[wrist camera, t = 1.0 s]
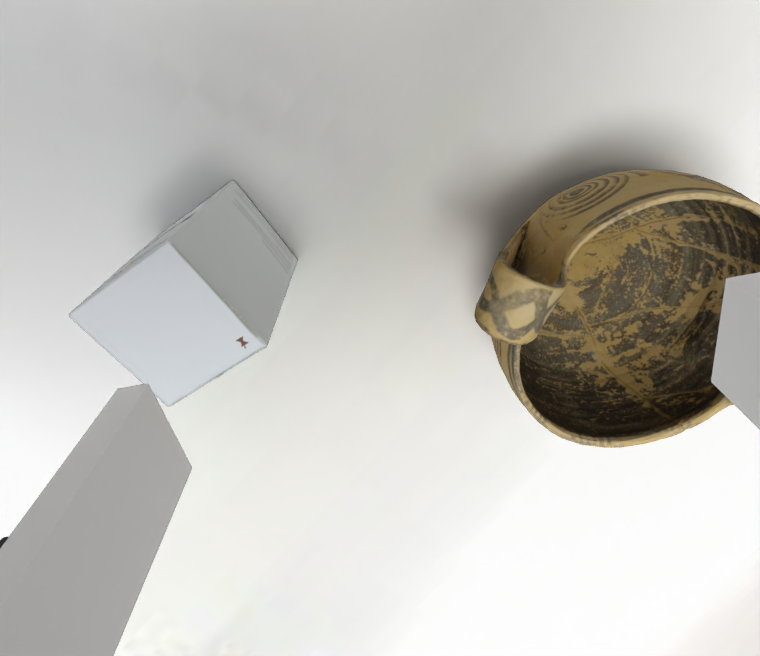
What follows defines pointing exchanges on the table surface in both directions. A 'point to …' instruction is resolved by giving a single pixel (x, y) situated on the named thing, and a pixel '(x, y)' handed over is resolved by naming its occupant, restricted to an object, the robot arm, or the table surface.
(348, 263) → the table surface
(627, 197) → the ceramic bowl
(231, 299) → the supplement box
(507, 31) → the table surface
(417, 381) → the table surface
